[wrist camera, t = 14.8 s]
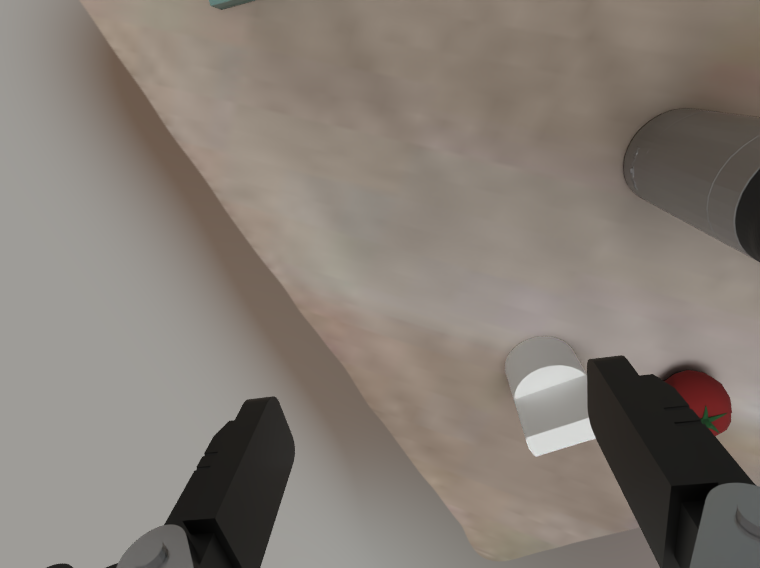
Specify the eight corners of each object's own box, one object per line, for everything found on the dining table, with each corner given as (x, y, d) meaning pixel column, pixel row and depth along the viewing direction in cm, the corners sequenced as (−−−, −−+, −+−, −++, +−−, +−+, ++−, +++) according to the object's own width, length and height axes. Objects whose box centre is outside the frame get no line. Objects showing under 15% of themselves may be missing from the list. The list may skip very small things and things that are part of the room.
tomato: (632, 399, 57) (660, 440, 50) (670, 352, 53) (705, 391, 47) (686, 417, 58) (720, 460, 51) (726, 373, 54) (769, 413, 48)
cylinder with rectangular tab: (519, 401, 58) (543, 475, 48) (494, 352, 55) (513, 418, 45) (585, 378, 56) (626, 451, 45) (563, 325, 53) (600, 389, 42)
